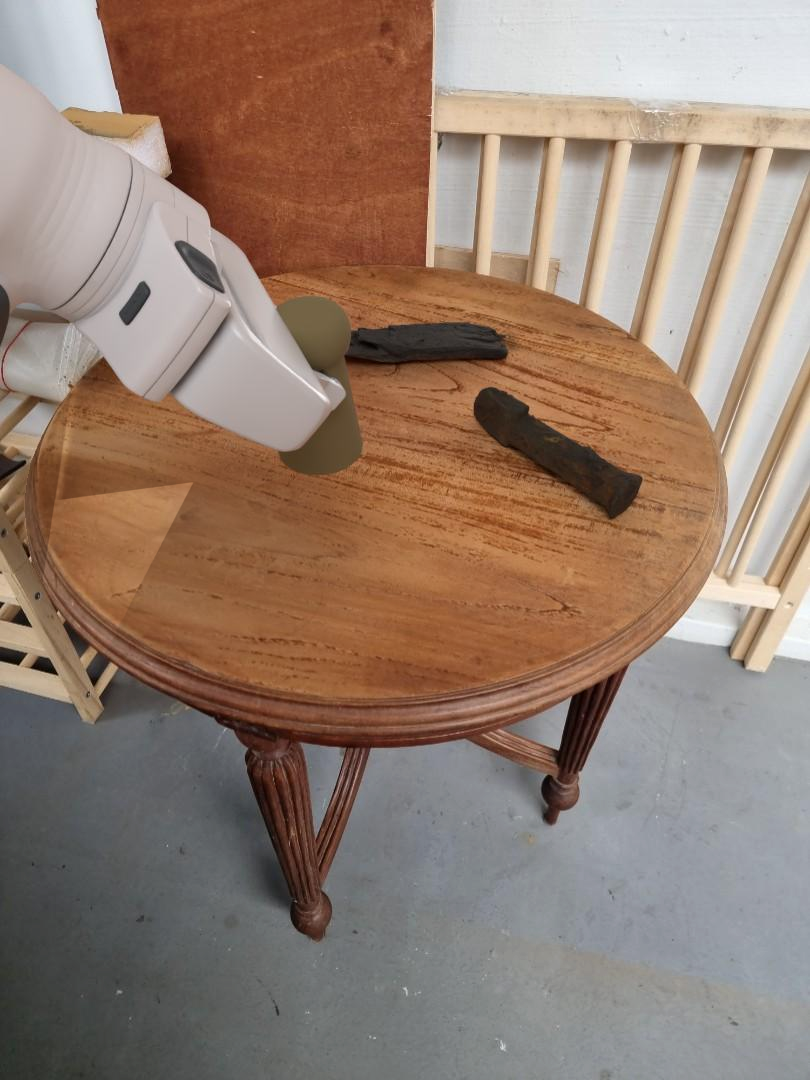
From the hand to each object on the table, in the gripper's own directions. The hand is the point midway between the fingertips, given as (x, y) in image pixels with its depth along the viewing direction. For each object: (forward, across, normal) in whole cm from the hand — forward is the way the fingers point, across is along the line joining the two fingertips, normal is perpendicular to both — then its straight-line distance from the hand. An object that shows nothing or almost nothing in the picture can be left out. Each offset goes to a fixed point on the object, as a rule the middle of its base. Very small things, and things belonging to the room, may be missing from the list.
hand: (322, 374), depth 51 cm
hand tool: (+30, -5, +2) cm, 30 cm away
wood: (+27, -28, -1) cm, 39 cm away
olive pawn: (+4, 0, -5) cm, 6 cm away
